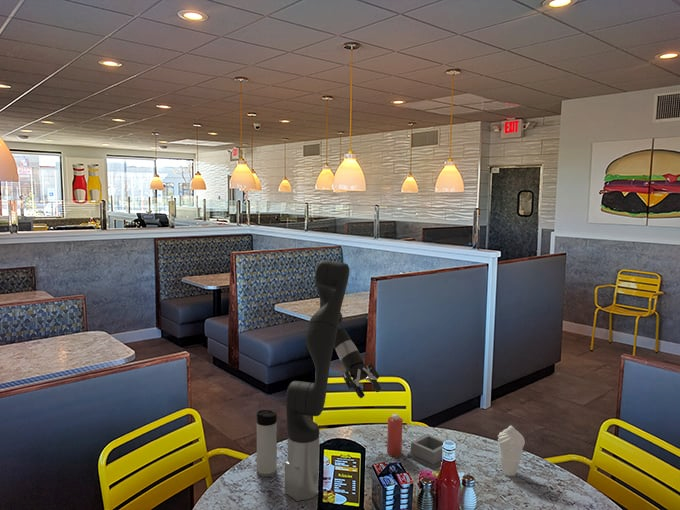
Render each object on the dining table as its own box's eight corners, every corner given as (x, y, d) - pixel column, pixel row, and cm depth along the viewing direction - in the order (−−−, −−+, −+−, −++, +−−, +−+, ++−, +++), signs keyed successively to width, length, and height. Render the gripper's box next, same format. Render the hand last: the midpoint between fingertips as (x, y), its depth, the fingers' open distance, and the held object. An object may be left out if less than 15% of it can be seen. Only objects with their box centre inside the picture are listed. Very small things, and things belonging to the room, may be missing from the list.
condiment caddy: (433, 469, 161) (434, 454, 161) (407, 456, 169) (407, 442, 168) (453, 457, 169) (453, 443, 168) (426, 446, 176) (427, 432, 176)
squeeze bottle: (395, 458, 168) (396, 419, 166) (384, 452, 171) (385, 415, 170) (404, 453, 171) (405, 415, 170) (393, 447, 175) (394, 411, 173)
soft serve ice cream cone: (500, 463, 165) (502, 417, 164) (526, 471, 161) (528, 424, 159) (492, 474, 159) (494, 426, 157) (518, 483, 154) (521, 433, 152)
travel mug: (251, 472, 157) (251, 411, 155) (268, 464, 162) (268, 405, 160) (264, 480, 153) (264, 417, 151) (280, 471, 158) (281, 411, 156)
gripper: (340, 353, 178) (362, 394, 171) (367, 346, 188) (390, 384, 180) (330, 364, 182) (351, 404, 175) (357, 356, 192) (378, 394, 185)
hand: (371, 394), depth 178 cm, fingers open, 8 cm apart
